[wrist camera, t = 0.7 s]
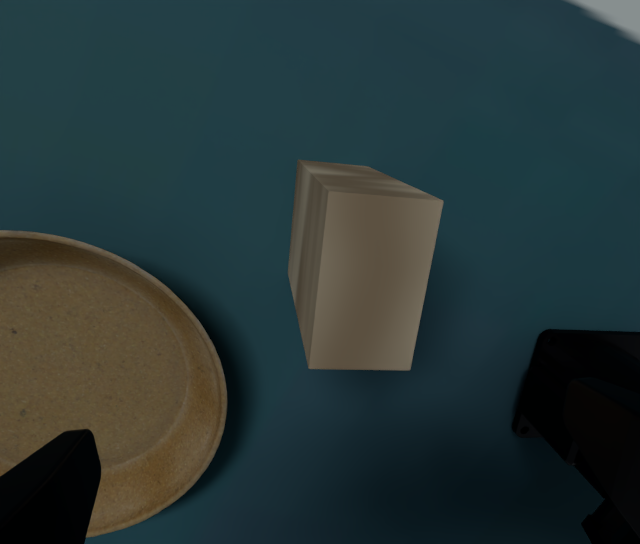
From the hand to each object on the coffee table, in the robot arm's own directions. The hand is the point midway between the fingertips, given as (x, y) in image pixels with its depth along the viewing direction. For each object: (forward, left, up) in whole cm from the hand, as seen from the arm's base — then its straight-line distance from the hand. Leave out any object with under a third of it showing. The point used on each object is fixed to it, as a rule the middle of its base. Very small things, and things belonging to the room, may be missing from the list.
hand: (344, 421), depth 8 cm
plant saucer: (+10, +7, -12) cm, 17 cm away
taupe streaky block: (-1, -1, -12) cm, 12 cm away
